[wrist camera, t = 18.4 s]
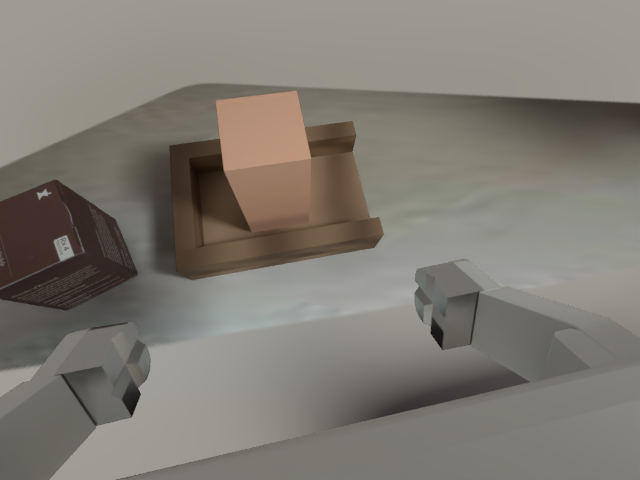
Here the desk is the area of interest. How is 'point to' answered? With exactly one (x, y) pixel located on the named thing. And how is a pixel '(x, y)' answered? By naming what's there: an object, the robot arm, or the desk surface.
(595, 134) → the desk surface
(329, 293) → the desk surface
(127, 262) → the box
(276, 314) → the desk surface
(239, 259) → the cradle
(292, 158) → the block
